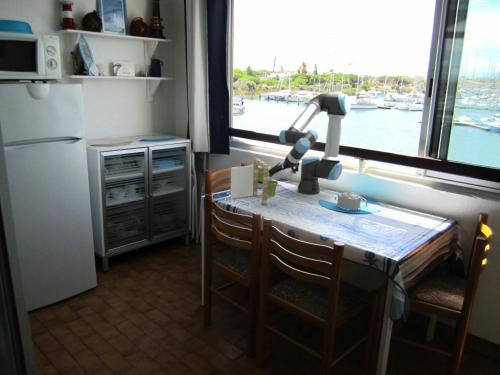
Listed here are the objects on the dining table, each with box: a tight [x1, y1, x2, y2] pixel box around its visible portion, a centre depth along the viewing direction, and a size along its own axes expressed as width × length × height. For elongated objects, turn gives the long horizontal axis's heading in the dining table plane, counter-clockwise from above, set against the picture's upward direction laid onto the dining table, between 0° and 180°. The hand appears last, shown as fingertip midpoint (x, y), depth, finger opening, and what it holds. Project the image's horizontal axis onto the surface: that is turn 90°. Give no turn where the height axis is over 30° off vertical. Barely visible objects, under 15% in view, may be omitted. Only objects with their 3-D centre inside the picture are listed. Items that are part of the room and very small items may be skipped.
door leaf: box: [230, 165, 254, 199], centre depth 252 cm, size 15×3×19 cm, turn 117°
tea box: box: [248, 163, 273, 189], centre depth 278 cm, size 15×10×15 cm
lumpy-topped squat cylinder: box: [336, 191, 362, 211], centre depth 240 cm, size 10×13×9 cm
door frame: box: [253, 157, 269, 206], centre depth 248 cm, size 21×2×24 cm, turn 17°
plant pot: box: [267, 179, 279, 197], centre depth 261 cm, size 9×9×9 cm
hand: (278, 177), depth 249 cm, fingers open, 13 cm apart
